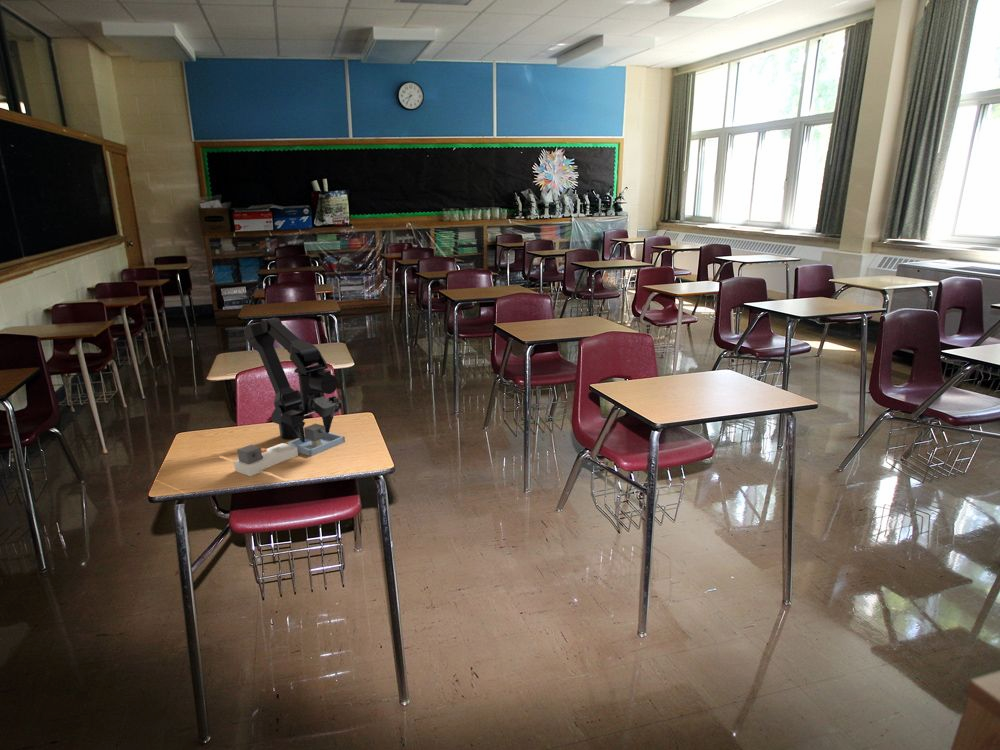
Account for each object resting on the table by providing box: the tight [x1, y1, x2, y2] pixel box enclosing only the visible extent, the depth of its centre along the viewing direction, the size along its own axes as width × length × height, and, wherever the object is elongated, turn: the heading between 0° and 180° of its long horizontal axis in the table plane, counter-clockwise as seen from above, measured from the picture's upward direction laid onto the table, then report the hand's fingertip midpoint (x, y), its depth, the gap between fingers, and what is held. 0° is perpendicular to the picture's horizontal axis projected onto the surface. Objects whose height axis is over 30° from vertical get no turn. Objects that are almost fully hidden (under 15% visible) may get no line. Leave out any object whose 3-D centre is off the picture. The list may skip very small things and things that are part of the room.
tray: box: [286, 431, 346, 457], centre depth 190 cm, size 11×13×2 cm
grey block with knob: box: [304, 423, 326, 447], centre depth 189 cm, size 6×4×6 cm
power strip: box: [233, 442, 299, 477], centre depth 178 cm, size 9×16×6 cm, turn 145°
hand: (315, 437), depth 190 cm, fingers open, 9 cm apart
